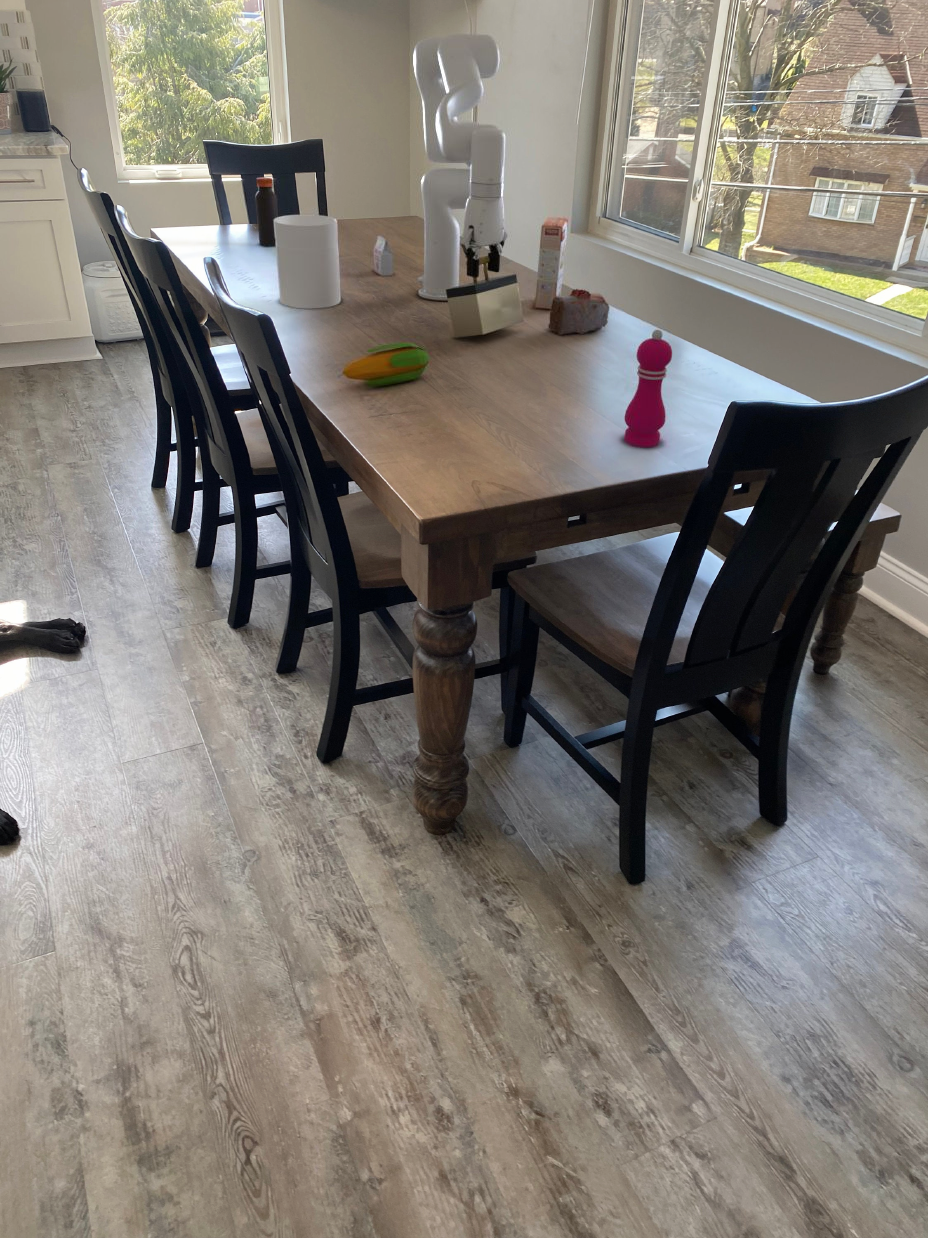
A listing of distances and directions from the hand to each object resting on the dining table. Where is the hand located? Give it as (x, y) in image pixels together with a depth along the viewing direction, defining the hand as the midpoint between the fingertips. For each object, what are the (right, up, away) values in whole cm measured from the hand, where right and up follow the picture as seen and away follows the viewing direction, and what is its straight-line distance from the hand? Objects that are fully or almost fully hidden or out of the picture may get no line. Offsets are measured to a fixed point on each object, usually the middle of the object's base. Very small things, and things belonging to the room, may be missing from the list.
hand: (483, 273), depth 209 cm
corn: (-20, -32, -25) cm, 45 cm away
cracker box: (+19, +5, +34) cm, 39 cm away
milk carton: (-29, +23, +59) cm, 69 cm away
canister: (-46, +4, +29) cm, 54 cm away
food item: (+24, -10, +13) cm, 29 cm away
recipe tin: (-3, -3, +5) cm, 7 cm away
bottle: (-69, +44, +88) cm, 121 cm away
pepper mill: (+28, -49, -47) cm, 74 cm away
